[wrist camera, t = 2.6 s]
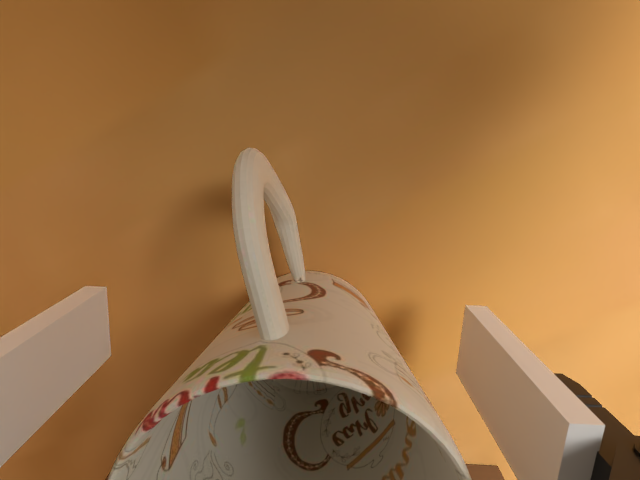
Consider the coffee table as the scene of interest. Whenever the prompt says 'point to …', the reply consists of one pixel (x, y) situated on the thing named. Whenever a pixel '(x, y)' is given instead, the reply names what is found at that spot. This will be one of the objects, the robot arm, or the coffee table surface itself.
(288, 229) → the mug
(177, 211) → the coffee table surface
